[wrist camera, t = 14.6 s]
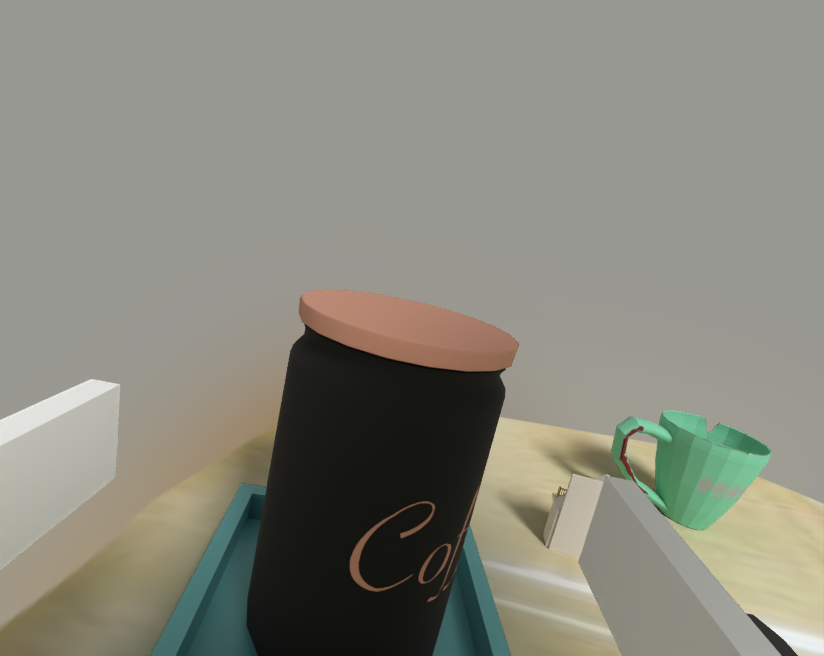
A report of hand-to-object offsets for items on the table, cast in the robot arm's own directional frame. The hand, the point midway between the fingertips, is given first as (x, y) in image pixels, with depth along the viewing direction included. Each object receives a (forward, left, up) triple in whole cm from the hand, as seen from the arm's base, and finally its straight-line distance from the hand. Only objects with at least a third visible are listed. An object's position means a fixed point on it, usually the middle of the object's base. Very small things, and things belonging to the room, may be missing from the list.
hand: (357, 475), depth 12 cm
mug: (-35, -29, -16) cm, 48 cm away
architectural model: (-21, -21, -17) cm, 34 cm away
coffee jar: (-2, -10, -15) cm, 19 cm away
